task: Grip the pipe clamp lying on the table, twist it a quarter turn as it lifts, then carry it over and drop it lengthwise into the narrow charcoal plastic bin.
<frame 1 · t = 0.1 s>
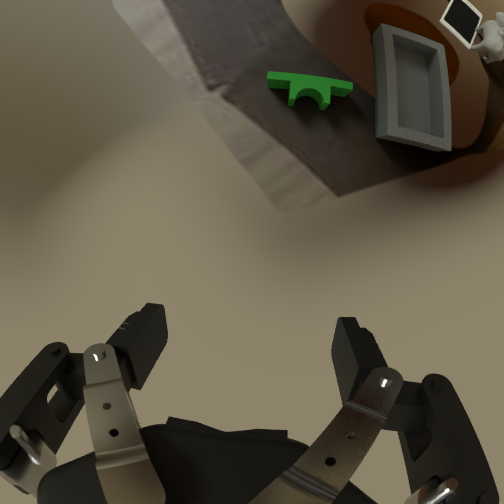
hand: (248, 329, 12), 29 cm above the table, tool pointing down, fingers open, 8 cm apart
bin: (406, 90, 31), on the table
dog figurine: (481, 41, 24), on the table
cell phone: (461, 18, 24), on the table
pipe clamp: (306, 95, 34), on the table
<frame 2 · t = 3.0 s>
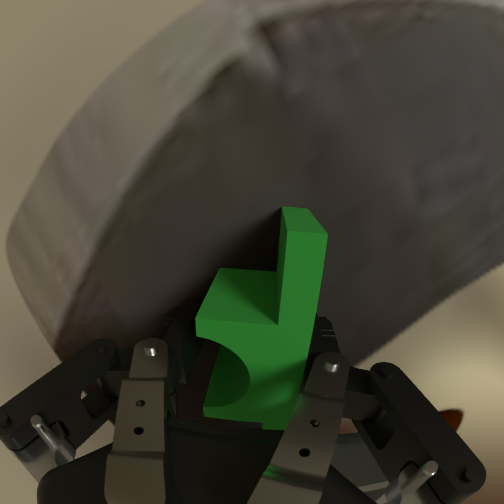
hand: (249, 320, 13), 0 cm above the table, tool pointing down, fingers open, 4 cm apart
bin: (284, 466, 18), on the table
pipe clamp: (259, 315, 13), on the table, touching gripper
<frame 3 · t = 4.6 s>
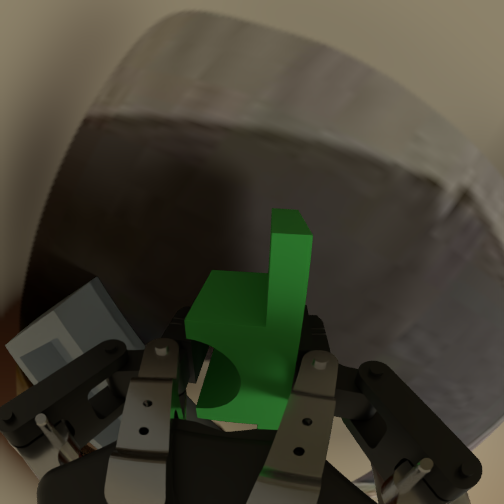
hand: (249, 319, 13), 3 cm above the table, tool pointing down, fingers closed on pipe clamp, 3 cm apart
bin: (123, 383, 20), on the table
pipe clamp: (253, 317, 14), point 3 cm above the table, touching gripper
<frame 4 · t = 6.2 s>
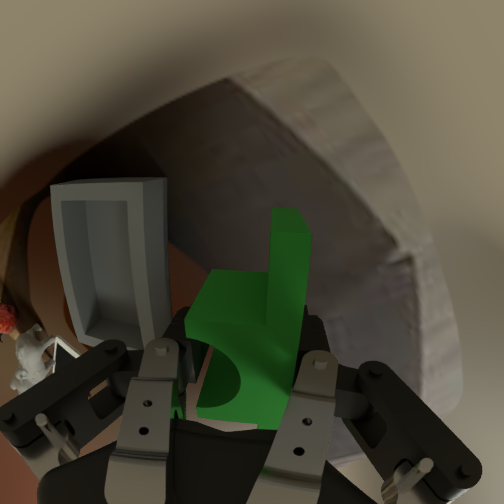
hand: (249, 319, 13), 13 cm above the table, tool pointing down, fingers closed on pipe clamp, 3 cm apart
bin: (123, 261, 27), on the table
dog figurine: (47, 348, 35), on the table
cell phone: (71, 371, 37), on the table
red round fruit: (11, 304, 34), on the table
pipe clamp: (253, 316, 14), point 13 cm above the table, touching gripper
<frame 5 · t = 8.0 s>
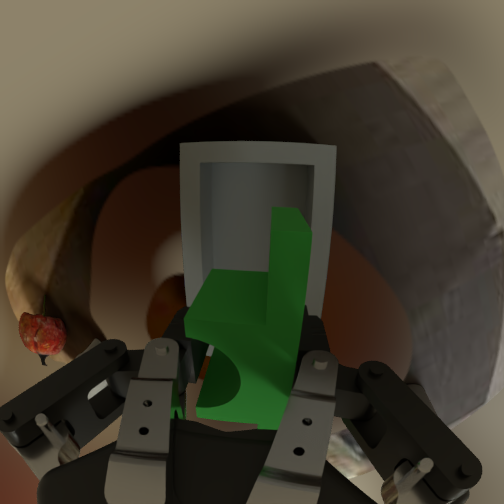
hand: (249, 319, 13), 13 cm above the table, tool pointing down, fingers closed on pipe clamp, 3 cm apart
bin: (258, 246, 25), on the table
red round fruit: (55, 318, 31), on the table
pipe clamp: (253, 316, 13), point 12 cm above the table, touching gripper
when the fingers open (7 cm above the table, at t = 9.1 s): pipe clamp drops 5 cm, resting on bin.
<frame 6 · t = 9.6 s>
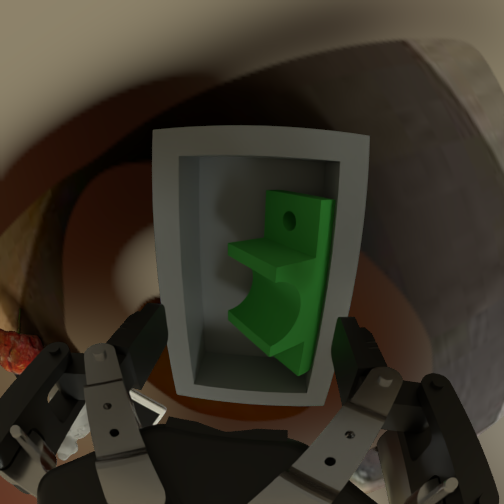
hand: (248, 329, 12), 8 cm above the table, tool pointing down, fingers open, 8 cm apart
bin: (258, 265, 20), on the table
dog figurine: (90, 389, 27), on the table
cell phone: (125, 416, 29), on the table
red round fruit: (32, 333, 26), on the table
pipe clamp: (252, 275, 18), point 2 cm above the table, touching bin
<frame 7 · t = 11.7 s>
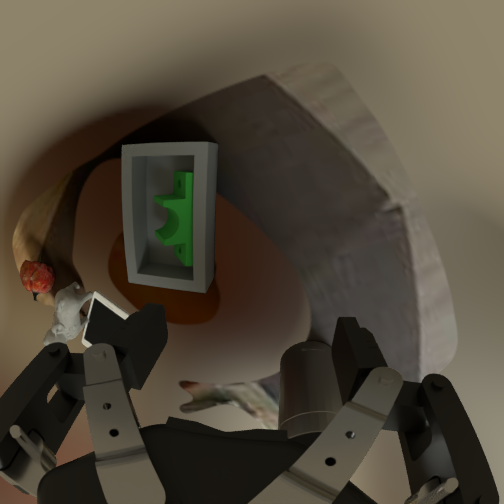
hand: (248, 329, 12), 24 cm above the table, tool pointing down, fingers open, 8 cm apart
bin: (176, 210, 36), on the table
dog figurine: (82, 306, 44), on the table
cell phone: (104, 328, 45), on the table
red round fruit: (48, 267, 42), on the table
pipe clamp: (168, 213, 34), point 2 cm above the table, touching bin
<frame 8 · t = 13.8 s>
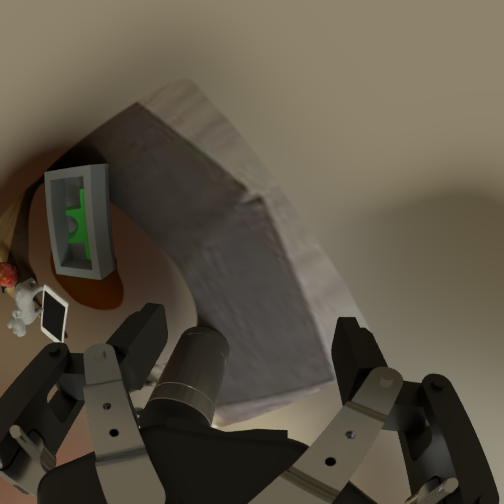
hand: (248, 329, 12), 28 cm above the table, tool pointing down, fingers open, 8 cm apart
bin: (86, 217, 41), on the table
dog figurine: (38, 298, 49), on the table
cell phone: (54, 316, 50), on the table
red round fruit: (14, 267, 47), on the table
pipe clamp: (78, 220, 39), point 2 cm above the table, touching bin
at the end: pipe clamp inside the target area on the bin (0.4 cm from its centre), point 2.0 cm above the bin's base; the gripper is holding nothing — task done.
